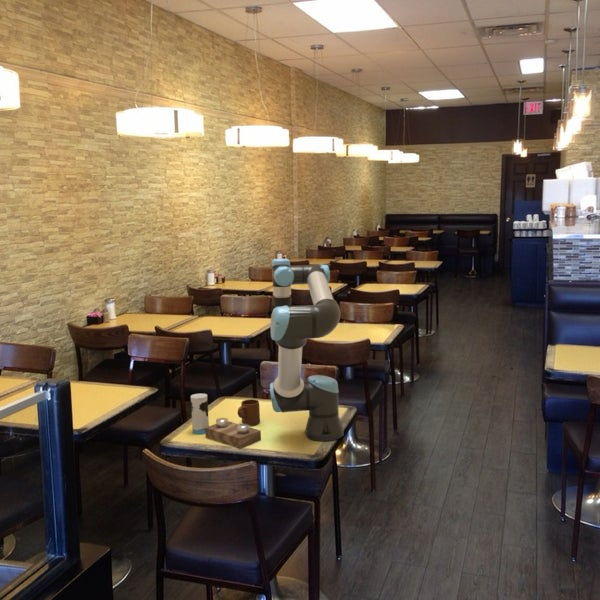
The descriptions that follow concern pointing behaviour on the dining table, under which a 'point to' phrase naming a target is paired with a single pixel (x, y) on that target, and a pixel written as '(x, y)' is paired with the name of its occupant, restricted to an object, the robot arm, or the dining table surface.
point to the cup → (199, 413)
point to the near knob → (243, 428)
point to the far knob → (222, 422)
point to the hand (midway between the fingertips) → (283, 351)
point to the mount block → (232, 435)
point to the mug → (249, 412)
